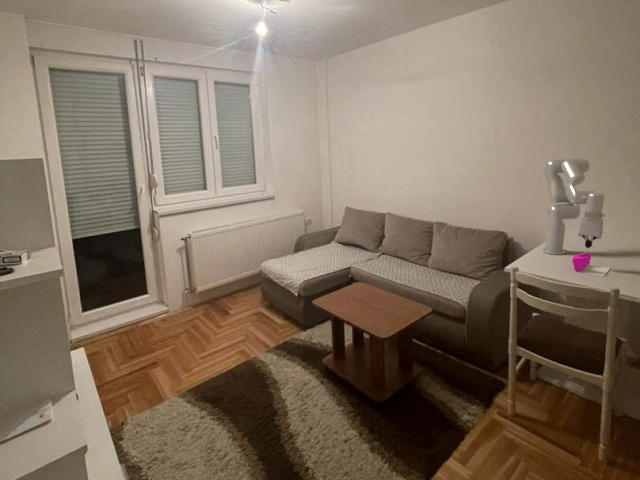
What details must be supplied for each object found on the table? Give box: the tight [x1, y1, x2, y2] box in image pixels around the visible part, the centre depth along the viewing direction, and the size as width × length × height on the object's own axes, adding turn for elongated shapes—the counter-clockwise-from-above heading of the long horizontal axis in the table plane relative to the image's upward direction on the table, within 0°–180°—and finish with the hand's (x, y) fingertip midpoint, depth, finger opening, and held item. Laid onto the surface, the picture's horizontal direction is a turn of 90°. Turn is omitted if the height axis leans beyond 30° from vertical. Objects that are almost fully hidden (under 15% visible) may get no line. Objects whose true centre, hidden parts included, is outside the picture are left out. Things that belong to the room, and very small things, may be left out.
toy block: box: [571, 252, 592, 271], centre depth 213 cm, size 15×6×8 cm
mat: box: [577, 263, 612, 277], centre depth 211 cm, size 18×12×1 cm, turn 133°
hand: (588, 247), depth 212 cm, fingers closed
